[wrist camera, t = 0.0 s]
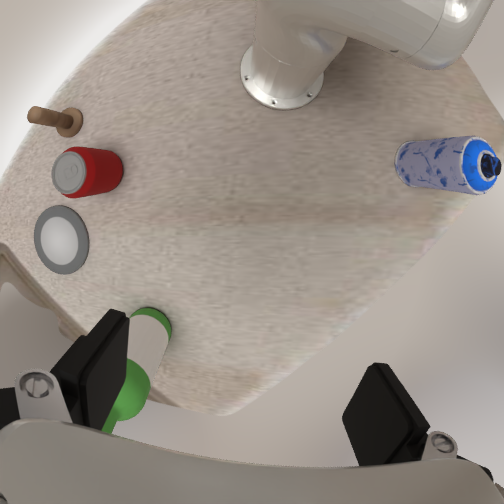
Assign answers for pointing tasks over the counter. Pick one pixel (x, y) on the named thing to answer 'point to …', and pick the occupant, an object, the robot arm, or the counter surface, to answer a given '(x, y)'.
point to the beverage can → (86, 172)
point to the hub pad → (61, 239)
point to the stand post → (57, 119)
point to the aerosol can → (449, 164)
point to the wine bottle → (140, 363)
